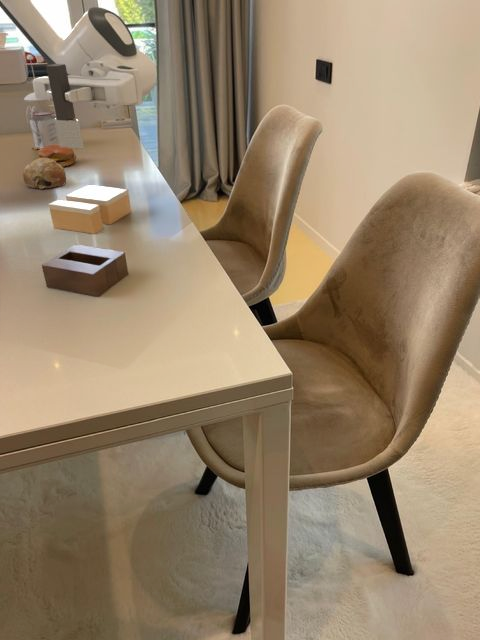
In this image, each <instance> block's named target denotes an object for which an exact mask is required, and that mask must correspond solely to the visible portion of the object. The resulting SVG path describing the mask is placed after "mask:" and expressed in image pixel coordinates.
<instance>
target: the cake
mask: <svg viewBox="0 0 480 640" xmlns="http://www.w3.org/2000/svg"><path fill="white" fill-rule="evenodd" d="M129 194H130V193H129V189H127V188H121V187H120V188H119V187H113V186H112V187H110V186H103V185H96V184H95V185H94V184H87V185H85V186H83V187H81V188H79V189H77V190H74V191H73V192H70V193H68V194H66V195H65V198H66V199H65V200H66V201H72V202H80V203H87V204H95V205H99V207H100V213H101V219H102V224H103V225H113V224H114V223H116V222H117V221H119V220H121V219H123V218H124V217H125V216H127V215H129V214H130V213H132V208H131V202H130V195H129Z"/></svg>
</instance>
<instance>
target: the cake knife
mask: <svg viewBox="0 0 480 640" xmlns="http://www.w3.org/2000/svg"><path fill="white" fill-rule="evenodd" d="M45 67H46V74H47V76H48V78H49V83H50V88H51V93H52V98H53V101H52V103H53V108H54V114H55V116H56V118H55V119H54V121H55V126H56V131H57V136H58V141H59V146H60V147H70V148H72V149H80V150H81V149H84V148H85V147H84V141H83V135H82V131H81V125H80V120H79V119H76V113H75V108H74V102H66V101H65V99H64V91H67V90H70V86H69V81H68V75H67V70H66V65H65V64H51V65H48V64H47V65H45Z"/></svg>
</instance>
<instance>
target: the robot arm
mask: <svg viewBox="0 0 480 640" xmlns="http://www.w3.org/2000/svg"><path fill="white" fill-rule="evenodd" d="M0 8H1V10H2V11H3V12H4V14H5V15H6V16H7V17H8V18H9V19H10V21H11V22H12V23H13V24H14V25H15V26H16V28H17V29H18V30H19V31H20V33H21V34H22V35H23V36H24V38H26V40H27V41H28V42H29V43H30V45H32V47H33V48H34V49H35V50H36V51H37V52H38V53H39V54H40V56H41V57H42V58H43V60H44V61H45V62H46V64H47V65H51V64H65V65H66V70H67V75H68V81H69V86H70V90H67V91H64V99H65V101H66V102H73V103H85V104H90V106H92V107H94V108H96V109H97V110H101V111H106V110H110V109H115V108H116V109H117V108H118V107H119V108H120V107H133V106H134V107H135V106H140V105H142V104H143V98H144V97H146V96H147V95H149V94H150V93H151V91H153V90H154V88H155V85H156V83H157V77H158V75H157V72H158V71H157V67H156V65H155V63H154V61H153V60H152V58H151V57H150V56H149V55H147V54H146V53H144V52H142V51H141V50H140V49H139V48H138V47H137V45H136V43H135V40H134V37H133V35H132V33H131V31H130V29H129V27H128V26H127V24H126V23H125V22H124V20H123V19H122V18H121V17H120V16H119V15H118V14H116V13H115V12H113V11H111V10H109V9H106V8H103V7H98V6H94V7H90V8H89V9H88V10H87V11H86V12H85V13H84V14H83V16H82V17H81V18H80V19H79V20H77V23H75V25H74V26H73V28H72V29H71V30H70V31H69V32H68V34H67V35H66V36H65V37H64V38H62V37H60V36H59V35H58V34H57V32H56V31H55V30H54V29H53V28H52V26H51V25H50V24H49V22H48V21H47V20H46V18H44V16H43V15H42V14H41V12H40V11H39V10H38V9H37V8H36V6H35V5H34V4H33V2H32V1H31V0H0ZM32 87H33V93H35V96H36V98H37V99H40V100H48V101H49V102H53V98H52V93H51V88H50V83H49V78H48V75H47V76H46V75H45V76H41V77H35V79H34V78H33V79H32Z"/></svg>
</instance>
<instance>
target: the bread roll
mask: <svg viewBox="0 0 480 640" xmlns="http://www.w3.org/2000/svg"><path fill="white" fill-rule="evenodd" d="M22 178H23V182H24V184H25V185H26V186H27V187H29V188H32V189H34V188H36V190H44V188H45V189H50V188H51V189H52V188H57V187H56V186H58V187H61V186H60V185H62V186H64V185H65V184H66V183H67V174H66V170H65V167H62V166H61V165H60V164H58V163H56V162H55V161H54V160H52V159H48V158H39V157H38V158H37V159H35V160H33V161H31V162H30V163H28V164H27V165H26V166H25V167H24V170H23V174H22ZM64 183H65V184H64ZM63 184H64V185H63ZM38 188H39V189H38Z"/></svg>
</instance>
